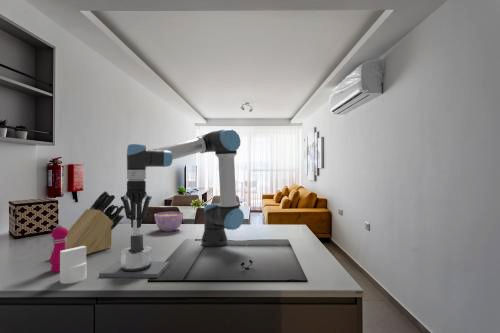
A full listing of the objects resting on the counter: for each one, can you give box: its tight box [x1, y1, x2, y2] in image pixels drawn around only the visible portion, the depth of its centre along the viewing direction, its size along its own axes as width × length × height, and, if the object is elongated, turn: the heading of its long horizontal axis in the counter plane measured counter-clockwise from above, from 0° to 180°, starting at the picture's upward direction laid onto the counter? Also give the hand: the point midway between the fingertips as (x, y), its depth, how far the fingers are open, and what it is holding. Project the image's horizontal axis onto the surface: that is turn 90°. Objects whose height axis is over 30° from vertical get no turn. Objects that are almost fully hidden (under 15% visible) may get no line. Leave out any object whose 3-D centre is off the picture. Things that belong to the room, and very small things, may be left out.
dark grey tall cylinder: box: [130, 233, 144, 252], centre depth 122 cm, size 5×5×12 cm
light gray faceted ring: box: [120, 245, 153, 272], centre depth 122 cm, size 12×12×8 cm
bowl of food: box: [153, 211, 184, 233], centre depth 201 cm, size 20×20×12 cm
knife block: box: [50, 190, 125, 256], centre depth 152 cm, size 11×35×31 cm, turn 155°
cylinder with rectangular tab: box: [59, 246, 88, 285], centre depth 113 cm, size 9×9×12 cm
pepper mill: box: [49, 223, 69, 273], centre depth 124 cm, size 7×7×20 cm
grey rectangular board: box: [98, 260, 171, 279], centre depth 122 cm, size 24×15×2 cm, turn 87°
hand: (136, 235), depth 122 cm, fingers closed
